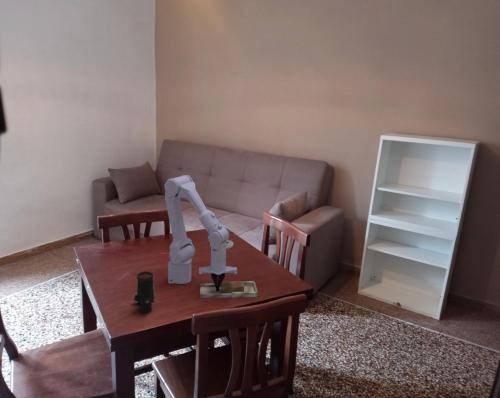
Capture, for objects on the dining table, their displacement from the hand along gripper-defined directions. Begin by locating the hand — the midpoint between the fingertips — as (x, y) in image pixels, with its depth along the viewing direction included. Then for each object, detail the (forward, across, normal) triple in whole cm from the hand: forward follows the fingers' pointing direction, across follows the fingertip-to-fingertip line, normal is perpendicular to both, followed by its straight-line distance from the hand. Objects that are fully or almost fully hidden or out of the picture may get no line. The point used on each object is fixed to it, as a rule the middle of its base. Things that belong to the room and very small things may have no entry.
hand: (217, 289), depth 152 cm
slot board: (+2, +4, 0) cm, 5 cm away
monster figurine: (+2, +4, +49) cm, 49 cm away
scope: (+2, -26, -10) cm, 28 cm away
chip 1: (+1, +4, 0) cm, 4 cm away
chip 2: (+1, +8, 0) cm, 8 cm away
